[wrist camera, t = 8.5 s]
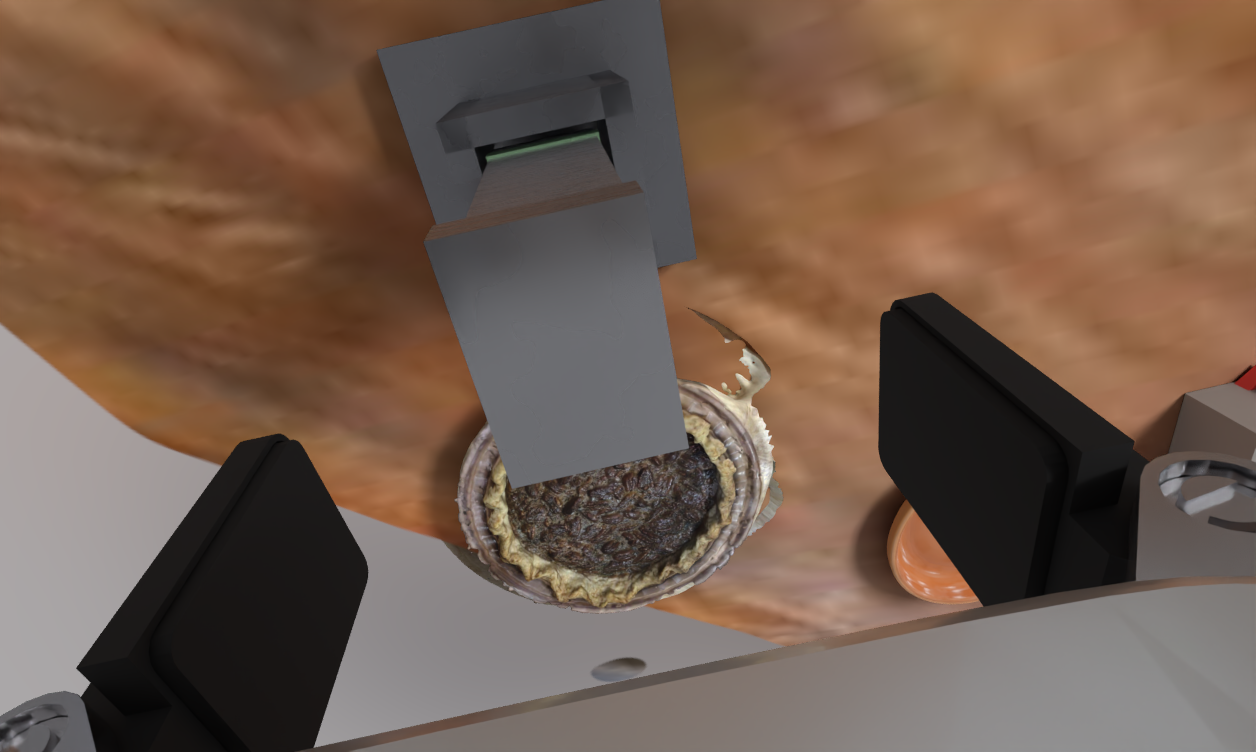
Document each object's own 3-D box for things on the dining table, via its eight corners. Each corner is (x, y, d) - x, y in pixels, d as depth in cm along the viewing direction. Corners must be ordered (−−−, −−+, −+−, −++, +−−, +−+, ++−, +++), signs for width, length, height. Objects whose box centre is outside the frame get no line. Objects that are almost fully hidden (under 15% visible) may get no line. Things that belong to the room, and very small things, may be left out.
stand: (385, 48, 33) (319, 57, 23) (651, -10, 33) (698, -26, 23) (469, 298, 40) (446, 386, 30) (689, 248, 40) (738, 320, 30)
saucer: (1040, 562, 58) (1063, 588, 56) (869, 595, 58) (885, 621, 55) (1077, 415, 50) (1106, 436, 48) (881, 450, 50) (899, 474, 47)
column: (475, 129, 28) (398, 247, 13) (589, 103, 28) (648, 191, 13) (515, 267, 31) (492, 493, 16) (618, 244, 31) (693, 447, 16)
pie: (599, 648, 57) (604, 699, 52) (332, 480, 46) (309, 527, 41) (856, 454, 50) (886, 494, 45) (614, 201, 39) (623, 222, 34)
